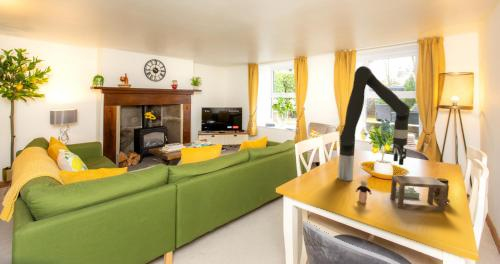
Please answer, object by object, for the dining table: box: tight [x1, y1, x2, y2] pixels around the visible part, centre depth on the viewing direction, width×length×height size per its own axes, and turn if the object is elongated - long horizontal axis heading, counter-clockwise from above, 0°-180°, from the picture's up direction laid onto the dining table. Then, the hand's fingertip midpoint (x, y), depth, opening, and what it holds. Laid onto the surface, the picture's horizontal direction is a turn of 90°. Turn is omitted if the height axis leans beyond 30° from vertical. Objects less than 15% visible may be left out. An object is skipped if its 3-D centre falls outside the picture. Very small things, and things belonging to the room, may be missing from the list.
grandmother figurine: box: [355, 179, 372, 205], centre depth 130 cm, size 8×4×13 cm, turn 66°
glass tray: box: [395, 185, 420, 199], centre depth 140 cm, size 12×6×5 cm, turn 79°
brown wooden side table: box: [389, 175, 447, 213], centre depth 127 cm, size 20×12×14 cm, turn 79°
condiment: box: [433, 177, 451, 205], centre depth 132 cm, size 7×8×12 cm
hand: (398, 162), depth 150 cm, fingers open, 8 cm apart
